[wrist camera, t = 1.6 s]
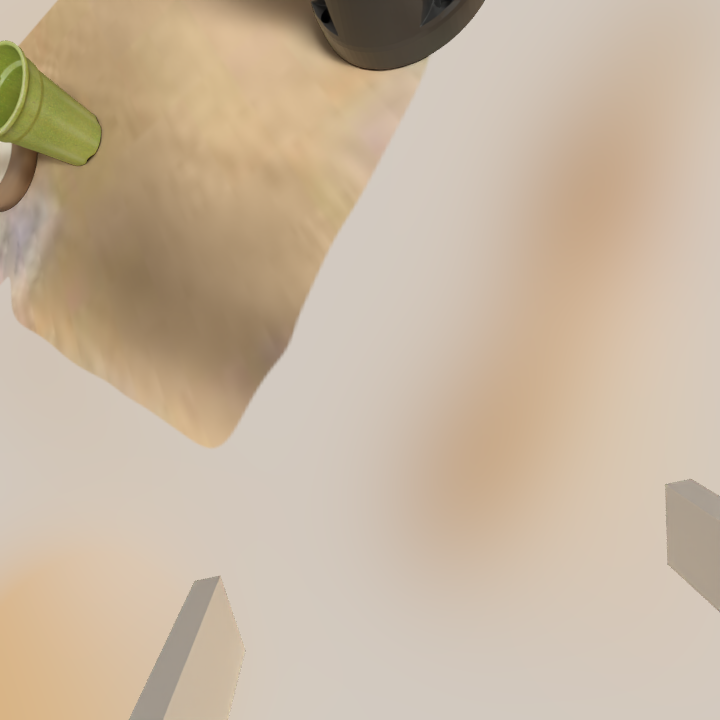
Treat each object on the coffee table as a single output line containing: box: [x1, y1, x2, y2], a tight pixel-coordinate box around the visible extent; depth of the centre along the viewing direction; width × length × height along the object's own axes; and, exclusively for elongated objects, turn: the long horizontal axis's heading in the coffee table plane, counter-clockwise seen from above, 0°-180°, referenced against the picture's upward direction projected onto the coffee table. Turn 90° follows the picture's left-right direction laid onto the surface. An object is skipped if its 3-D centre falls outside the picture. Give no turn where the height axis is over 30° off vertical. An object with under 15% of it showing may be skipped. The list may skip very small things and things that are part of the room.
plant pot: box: [0, 41, 101, 166], centre depth 42 cm, size 9×9×9 cm
